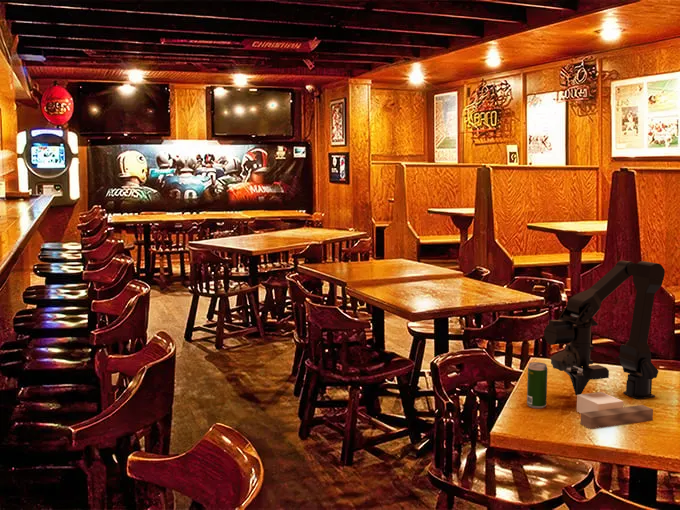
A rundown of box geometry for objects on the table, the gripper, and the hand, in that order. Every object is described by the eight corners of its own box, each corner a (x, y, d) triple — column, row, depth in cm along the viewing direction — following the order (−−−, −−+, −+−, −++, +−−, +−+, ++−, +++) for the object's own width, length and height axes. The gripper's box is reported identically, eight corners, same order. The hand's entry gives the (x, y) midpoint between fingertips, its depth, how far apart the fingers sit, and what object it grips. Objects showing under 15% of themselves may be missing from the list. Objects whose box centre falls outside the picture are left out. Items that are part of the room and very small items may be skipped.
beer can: (537, 410, 213) (538, 367, 212) (522, 405, 217) (523, 363, 216) (550, 406, 216) (551, 365, 215) (535, 401, 220) (537, 361, 219)
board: (642, 415, 208) (642, 404, 208) (652, 420, 204) (653, 409, 204) (580, 424, 202) (580, 412, 201) (590, 428, 198) (590, 417, 197)
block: (600, 409, 215) (601, 391, 214) (622, 419, 206) (623, 401, 206) (576, 412, 212) (577, 394, 211) (597, 422, 203) (598, 404, 203)
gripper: (536, 337, 222) (534, 389, 224) (577, 351, 205) (575, 408, 207) (568, 334, 226) (566, 385, 228) (611, 348, 209) (609, 403, 210)
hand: (578, 395), depth 218 cm, fingers closed
